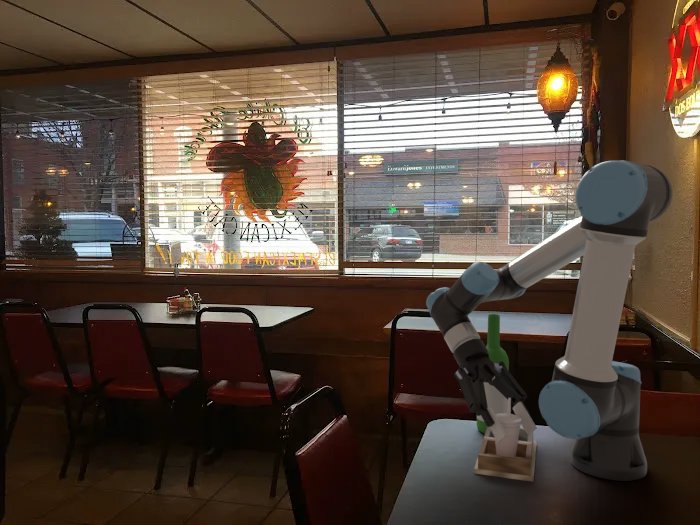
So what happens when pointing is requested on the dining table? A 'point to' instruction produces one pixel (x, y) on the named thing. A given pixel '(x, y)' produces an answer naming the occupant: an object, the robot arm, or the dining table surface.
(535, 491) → the dining table surface
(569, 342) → the robot arm
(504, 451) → the smoothie
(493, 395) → the wine bottle
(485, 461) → the board
